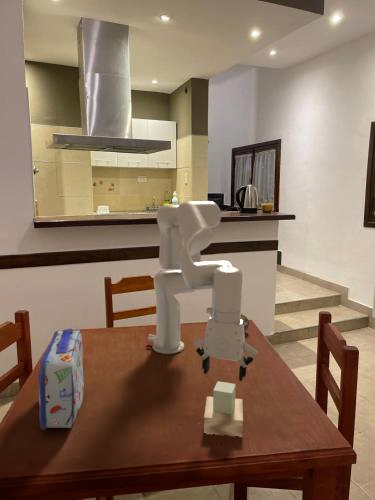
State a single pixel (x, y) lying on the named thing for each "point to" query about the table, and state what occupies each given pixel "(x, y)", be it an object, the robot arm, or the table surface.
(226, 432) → the maple block
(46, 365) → the lunch box
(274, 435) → the table surface
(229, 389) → the sage block
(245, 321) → the tin
